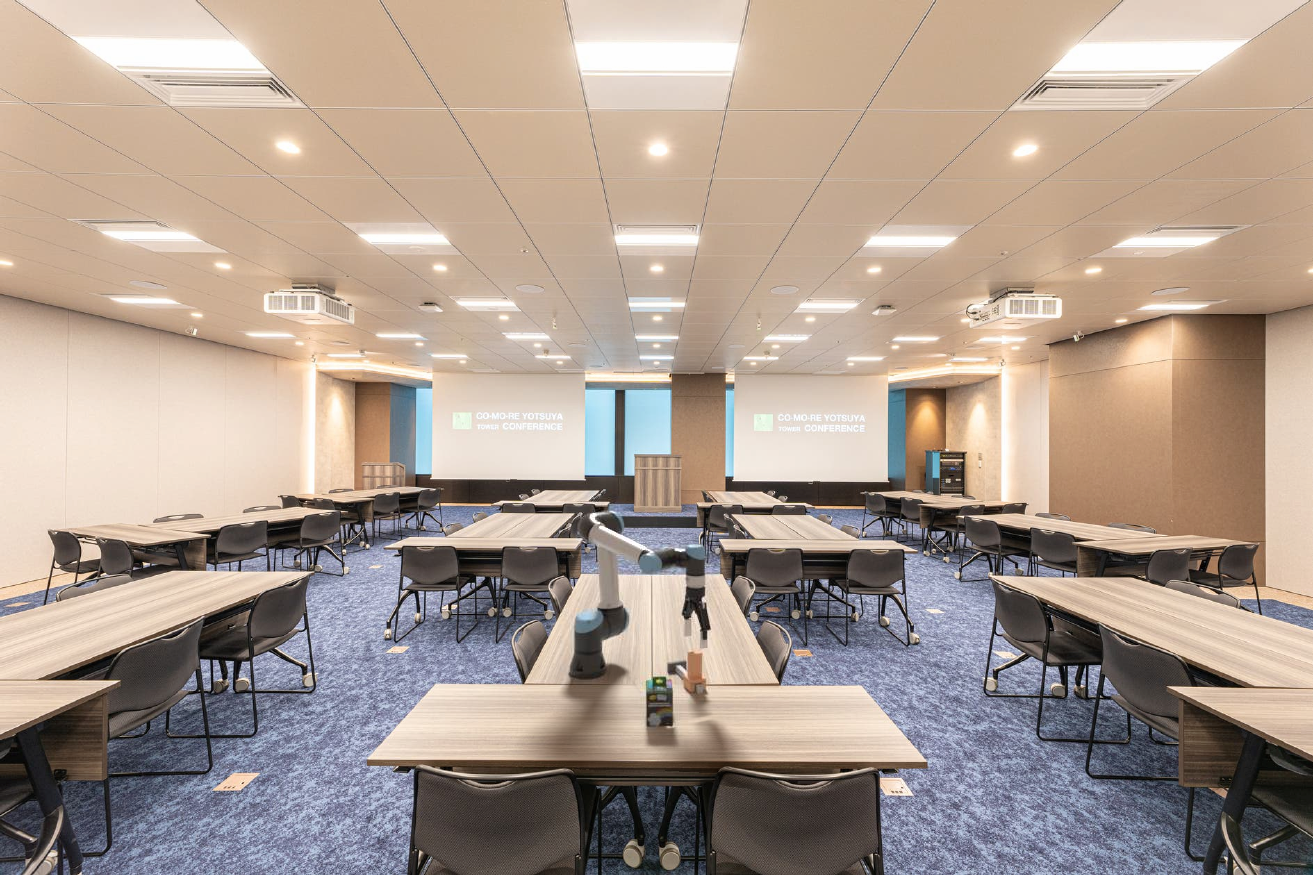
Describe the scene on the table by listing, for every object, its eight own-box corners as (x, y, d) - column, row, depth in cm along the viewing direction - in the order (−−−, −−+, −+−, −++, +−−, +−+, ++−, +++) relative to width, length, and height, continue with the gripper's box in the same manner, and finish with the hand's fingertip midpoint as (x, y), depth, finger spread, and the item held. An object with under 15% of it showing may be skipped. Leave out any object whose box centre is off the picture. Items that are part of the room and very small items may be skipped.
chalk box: (671, 712, 172) (672, 669, 173) (673, 726, 163) (674, 681, 163) (645, 712, 172) (645, 669, 172) (645, 726, 162) (646, 681, 163)
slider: (683, 685, 190) (683, 650, 191) (698, 682, 192) (699, 648, 193) (690, 692, 184) (690, 656, 185) (705, 689, 187) (706, 654, 187)
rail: (661, 673, 203) (661, 661, 204) (687, 668, 208) (688, 657, 208) (687, 700, 180) (687, 688, 180) (716, 695, 185) (716, 683, 185)
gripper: (673, 579, 200) (673, 632, 199) (701, 594, 177) (701, 654, 176) (690, 577, 203) (690, 630, 202) (719, 592, 180) (720, 651, 179)
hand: (695, 641), depth 189 cm, fingers open, 13 cm apart
